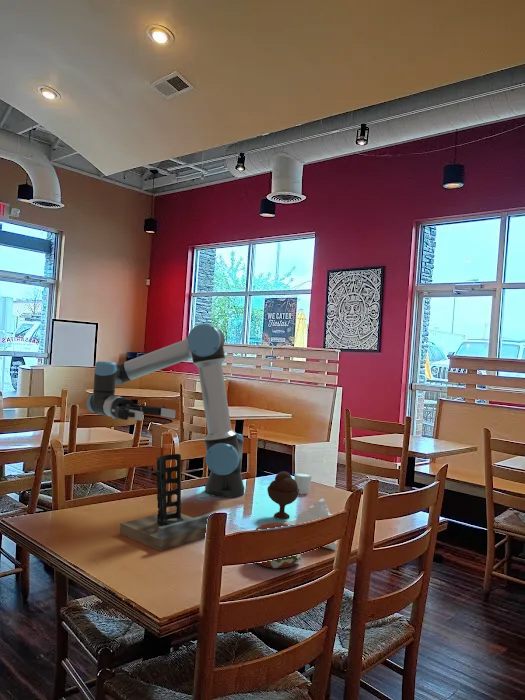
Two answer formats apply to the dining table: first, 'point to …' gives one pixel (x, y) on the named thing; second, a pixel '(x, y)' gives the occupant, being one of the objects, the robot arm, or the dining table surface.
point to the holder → (162, 493)
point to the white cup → (303, 482)
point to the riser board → (165, 531)
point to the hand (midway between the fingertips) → (158, 415)
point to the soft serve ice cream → (314, 517)
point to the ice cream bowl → (283, 492)
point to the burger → (284, 561)
